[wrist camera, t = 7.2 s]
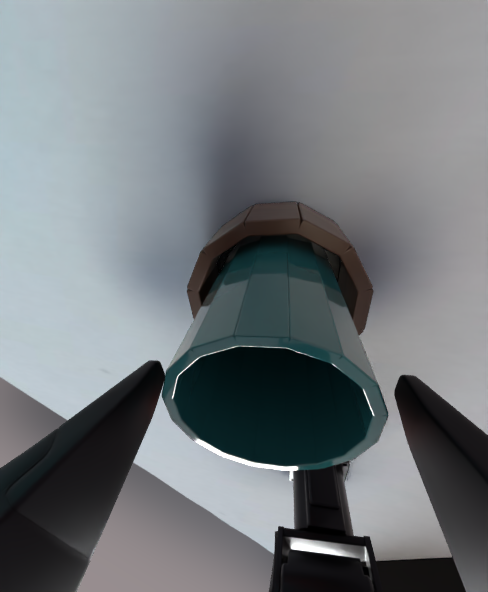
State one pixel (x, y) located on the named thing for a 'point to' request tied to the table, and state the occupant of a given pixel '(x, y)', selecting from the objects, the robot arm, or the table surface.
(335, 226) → the stave barrel planter
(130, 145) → the table surface
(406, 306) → the table surface
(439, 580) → the matte black box
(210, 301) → the cup
